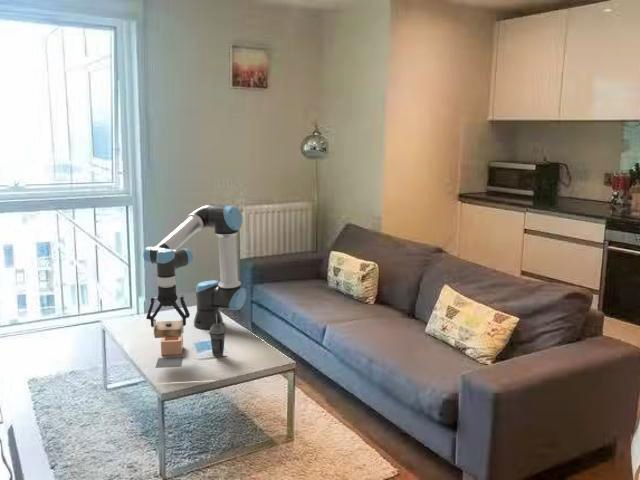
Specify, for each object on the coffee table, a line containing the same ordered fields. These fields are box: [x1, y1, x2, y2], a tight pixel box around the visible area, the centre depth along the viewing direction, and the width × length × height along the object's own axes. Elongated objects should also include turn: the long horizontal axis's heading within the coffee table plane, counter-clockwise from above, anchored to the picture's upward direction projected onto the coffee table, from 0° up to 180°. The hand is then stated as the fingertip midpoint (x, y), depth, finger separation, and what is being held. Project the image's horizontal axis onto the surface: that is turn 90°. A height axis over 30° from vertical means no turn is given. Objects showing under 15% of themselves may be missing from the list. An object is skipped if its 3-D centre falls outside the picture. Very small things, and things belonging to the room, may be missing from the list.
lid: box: [153, 320, 182, 339], centre depth 258 cm, size 11×11×4 cm
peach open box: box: [160, 333, 184, 356], centre depth 272 cm, size 9×9×7 cm
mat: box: [155, 356, 184, 369], centre depth 260 cm, size 11×11×1 cm
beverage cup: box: [209, 314, 226, 358], centre depth 267 cm, size 7×7×20 cm
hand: (168, 333), depth 259 cm, fingers closed on lid, 11 cm apart
